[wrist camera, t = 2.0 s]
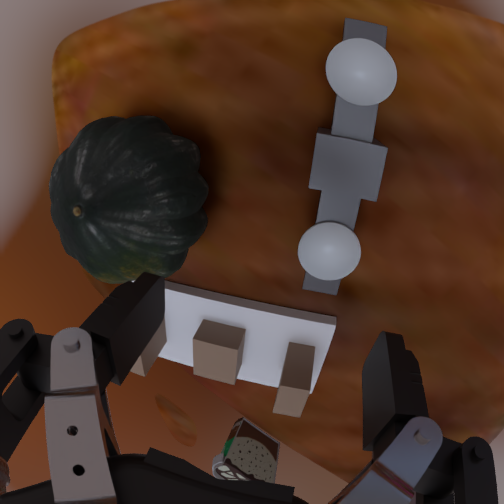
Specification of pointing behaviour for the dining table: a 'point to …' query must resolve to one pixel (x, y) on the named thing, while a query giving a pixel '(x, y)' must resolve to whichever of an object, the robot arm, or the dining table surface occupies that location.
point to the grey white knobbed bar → (347, 154)
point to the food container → (247, 455)
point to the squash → (128, 198)
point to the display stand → (242, 342)
